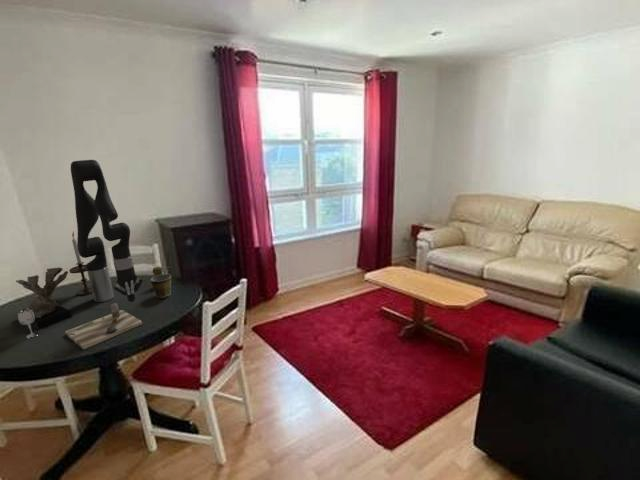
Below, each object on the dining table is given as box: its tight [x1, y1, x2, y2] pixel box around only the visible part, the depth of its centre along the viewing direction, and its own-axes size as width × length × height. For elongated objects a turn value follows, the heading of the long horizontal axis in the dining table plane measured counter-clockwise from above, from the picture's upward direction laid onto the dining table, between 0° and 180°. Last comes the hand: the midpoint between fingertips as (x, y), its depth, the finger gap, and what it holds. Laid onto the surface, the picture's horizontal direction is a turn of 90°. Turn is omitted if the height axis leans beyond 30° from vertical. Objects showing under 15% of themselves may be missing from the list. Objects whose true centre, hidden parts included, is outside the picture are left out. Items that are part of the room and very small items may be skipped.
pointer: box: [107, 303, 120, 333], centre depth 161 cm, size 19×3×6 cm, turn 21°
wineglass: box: [17, 307, 40, 339], centre depth 157 cm, size 6×6×12 cm
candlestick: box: [68, 231, 93, 297], centre depth 197 cm, size 11×11×35 cm
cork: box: [152, 266, 164, 277], centre depth 204 cm, size 6×6×11 cm
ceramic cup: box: [150, 273, 172, 299], centre depth 192 cm, size 13×10×10 cm
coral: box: [15, 267, 73, 330], centre depth 175 cm, size 25×20×22 cm
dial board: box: [64, 309, 143, 350], centre depth 160 cm, size 20×24×2 cm
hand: (131, 301), depth 170 cm, fingers closed
